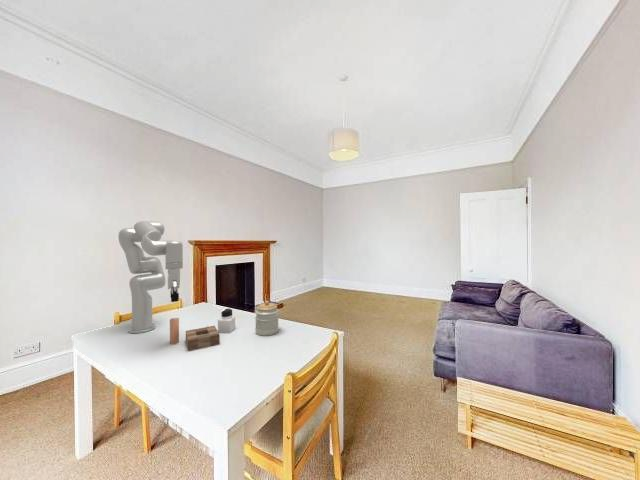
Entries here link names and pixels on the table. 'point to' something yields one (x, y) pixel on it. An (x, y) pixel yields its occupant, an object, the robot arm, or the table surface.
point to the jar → (266, 319)
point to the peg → (174, 330)
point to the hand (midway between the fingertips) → (174, 299)
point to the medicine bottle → (226, 321)
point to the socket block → (202, 338)
